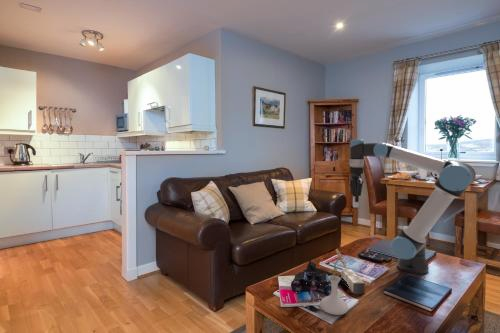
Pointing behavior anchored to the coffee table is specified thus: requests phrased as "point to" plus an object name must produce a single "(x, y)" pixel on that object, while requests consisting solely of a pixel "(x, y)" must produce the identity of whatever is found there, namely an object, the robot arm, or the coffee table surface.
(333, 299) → the flower in vase
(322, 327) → the coffee table surface
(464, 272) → the coffee table surface
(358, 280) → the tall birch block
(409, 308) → the coffee table surface
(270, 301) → the coffee table surface
